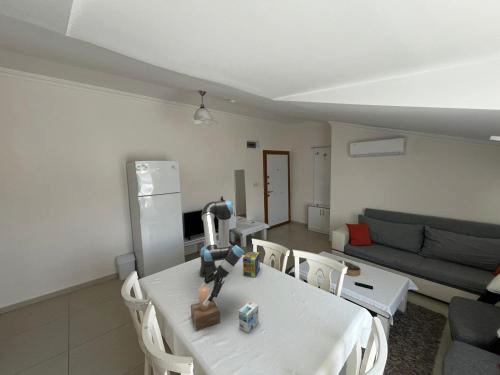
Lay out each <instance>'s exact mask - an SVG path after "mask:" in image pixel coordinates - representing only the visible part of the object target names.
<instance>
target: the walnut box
mask: <svg viewBox="0 0 500 375" xmlns="http://www.w3.org/2000/svg"><path fill="white" fill-rule="evenodd" d="M190 315H191V319H192V321H193V325H194V328H195V330H196V331H200V330H202V329H205V328H208V327H211V326H214V325H216V324H219V323H221V312H220V309H219V308H218V306H217V304H216V302H215V300H214V298H213V299H212V300H211V302H210V309H209V310H207V311H201V310H200V302H198V303H194V304H191V305H190Z"/></svg>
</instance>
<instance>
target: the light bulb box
mask: <svg viewBox="0 0 500 375" xmlns="http://www.w3.org/2000/svg"><path fill="white" fill-rule="evenodd" d="M259 315H260V314H259V304H256V303H254V302H252V301H247V303H246V304H245V305H244V306H243V305H242V307H241V308H240V309H239V310H238V326H239V327H238V328H239V329H241V330H242V331H244V332H246V333H248V334H249V333H250V332H251V331H252V330H253V329H254V328H255V326H257V324H259V323H260V322H259V321H260V320H259V319H260V318H259V317H260V316H259Z"/></svg>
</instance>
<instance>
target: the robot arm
mask: <svg viewBox="0 0 500 375" xmlns="http://www.w3.org/2000/svg"><path fill="white" fill-rule="evenodd" d="M233 215H234V207H233V203H232V201H231V200H219V201H209V202H208V203H207V204H205V205H204V207H203V208H202V212H201V220H202V222H203V231H204V240H205V241H204V242H205V245H204V246H202V247H201V249H200V252H199V253H200V254H199V255H200V267H199V271H198V273H199V276H200V277H201V278H204V279H203V280H204V282H203V283H202V284H201V286H200V287H199V288H201V287H203V286H207V287H208V285H209V283H212V282H214V285H213V287H212V291H211V293H209V296H208V297H207V299H206V300H205V301H204V303H203V305H205V306H207V305H208V304H209V303H210V302H211V300H212V299H213V300H214V298H218V297H219V294H220V291H221V289H222V287H223V285H224V283H225V280H224V278H227V277H228V275H229V274H230V272H231V271H232V270H233V269H234V267H235V265H237V263H238V262H240V261H239V260H240V259H241V258H242V257H243V256H244V254H245V251H244V250H243V248H241V247H240V246H238V244H235V245H232V244H231V243H230V219H231V218H232V216H233ZM215 217H216V219H217V220H218V241H217V235H216V228H215V227H216V226H215ZM216 261H217V262H218V261H221V262H220V265H219V266H218V267H217V265H216ZM197 293H199V289H198V290H197Z"/></svg>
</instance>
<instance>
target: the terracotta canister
mask: <svg viewBox="0 0 500 375" xmlns="http://www.w3.org/2000/svg"><path fill="white" fill-rule="evenodd" d="M200 287H201V286H200ZM200 287H199V288H198V290H199V292H198V297H199V300H198V301H199V303H200V310H201V311H207V310H209V309H210V303H209V304H208V305H207V306H205V305H203V303H204V301H205V300H206V299H207V297H208V296H209V295H210V286H208V285H207V286H203V287H201V288H200Z"/></svg>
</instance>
